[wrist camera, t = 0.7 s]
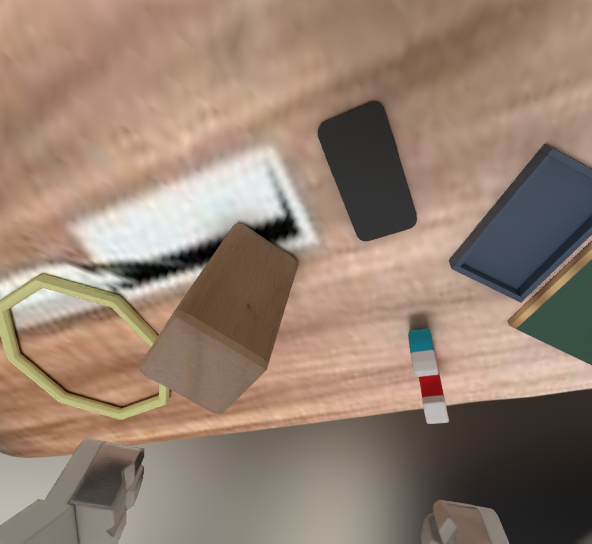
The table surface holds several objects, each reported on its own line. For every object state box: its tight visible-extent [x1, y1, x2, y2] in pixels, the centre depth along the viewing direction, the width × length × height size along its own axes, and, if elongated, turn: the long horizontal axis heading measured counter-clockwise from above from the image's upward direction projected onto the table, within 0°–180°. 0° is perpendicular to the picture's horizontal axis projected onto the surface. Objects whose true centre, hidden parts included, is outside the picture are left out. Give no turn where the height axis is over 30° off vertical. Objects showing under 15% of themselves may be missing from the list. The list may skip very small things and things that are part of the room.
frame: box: [0, 274, 170, 420], centre depth 67 cm, size 33×33×2 cm
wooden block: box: [141, 223, 298, 414], centre depth 44 cm, size 10×10×20 cm
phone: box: [318, 101, 417, 241], centre depth 43 cm, size 7×1×15 cm
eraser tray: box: [449, 144, 592, 302], centre depth 43 cm, size 16×10×2 cm, turn 156°
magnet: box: [408, 328, 449, 424], centre depth 51 cm, size 12×3×10 cm, turn 19°
